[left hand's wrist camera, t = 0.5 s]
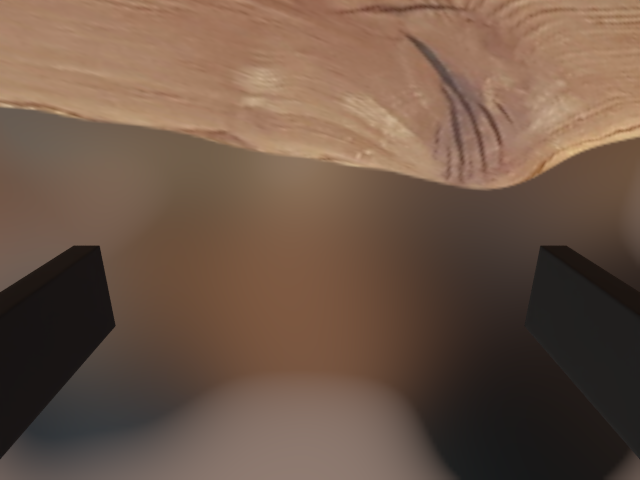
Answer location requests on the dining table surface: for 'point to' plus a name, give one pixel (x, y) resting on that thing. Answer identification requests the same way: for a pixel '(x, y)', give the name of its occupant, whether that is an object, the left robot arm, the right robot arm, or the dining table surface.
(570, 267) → the left robot arm
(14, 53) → the dining table surface
